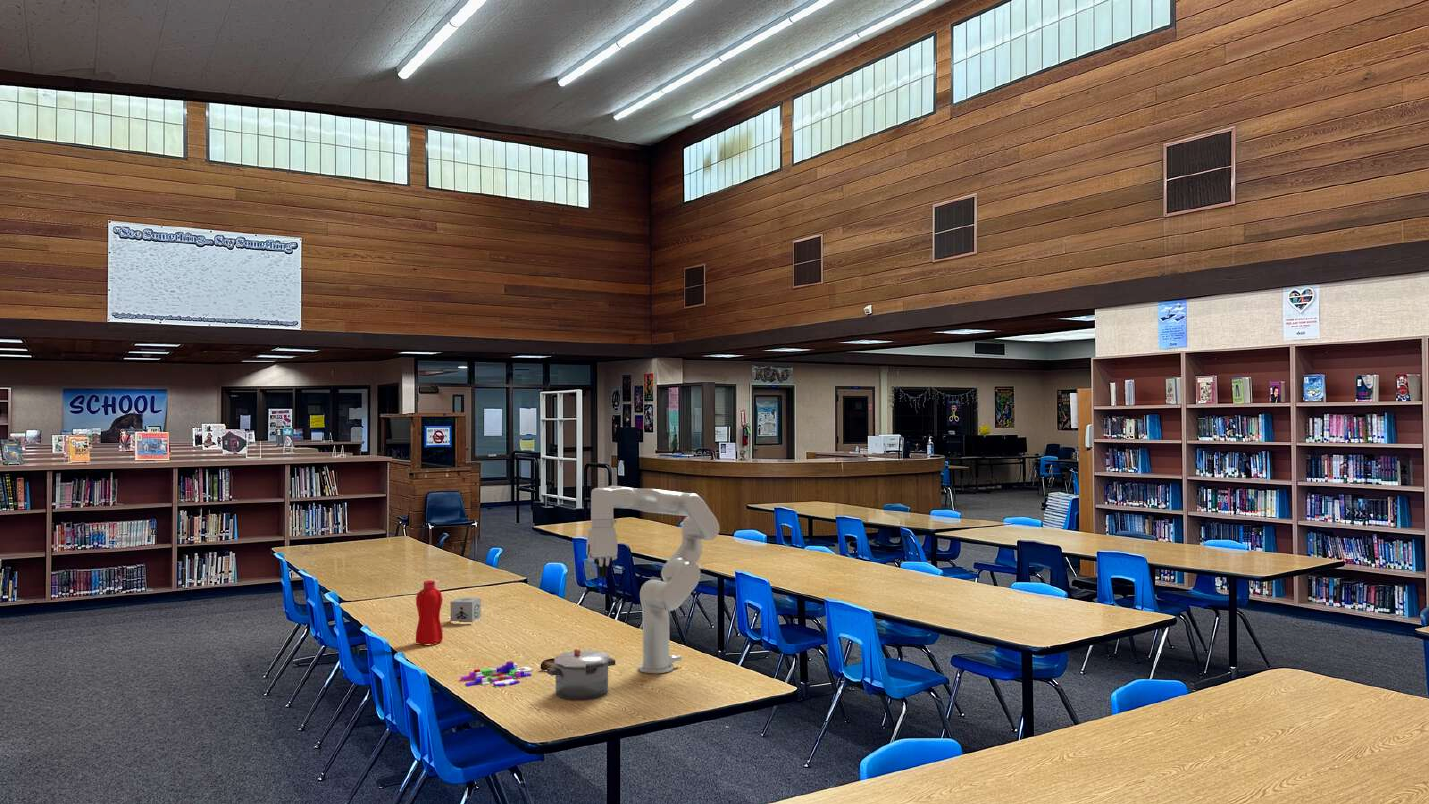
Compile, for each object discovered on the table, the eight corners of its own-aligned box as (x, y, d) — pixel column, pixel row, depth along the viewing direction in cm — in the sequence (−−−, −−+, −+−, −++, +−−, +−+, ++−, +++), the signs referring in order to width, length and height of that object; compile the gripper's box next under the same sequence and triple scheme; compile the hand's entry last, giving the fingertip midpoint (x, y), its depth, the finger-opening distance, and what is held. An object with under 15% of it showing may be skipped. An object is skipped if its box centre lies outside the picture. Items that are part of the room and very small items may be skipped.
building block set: (474, 693, 297) (474, 679, 297) (456, 678, 314) (456, 665, 315) (546, 681, 310) (546, 667, 311) (524, 667, 328) (524, 655, 328)
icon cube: (459, 619, 408) (459, 597, 409) (480, 620, 407) (480, 597, 407) (450, 624, 398) (450, 601, 399) (472, 624, 397) (472, 602, 397)
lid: (594, 651, 307) (594, 643, 307) (621, 663, 290) (621, 655, 290) (546, 659, 297) (546, 650, 297) (570, 672, 281) (570, 663, 281)
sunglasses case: (555, 673, 317) (549, 655, 319) (544, 681, 321) (538, 663, 323) (593, 663, 331) (586, 646, 333) (581, 670, 335) (575, 653, 337)
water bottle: (409, 645, 360) (409, 582, 360) (427, 639, 370) (427, 578, 370) (427, 647, 356) (428, 584, 357) (446, 641, 366) (446, 579, 367)
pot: (600, 680, 308) (600, 651, 308) (624, 693, 293) (624, 662, 294) (538, 691, 296) (538, 661, 296) (560, 705, 281) (560, 673, 281)
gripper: (616, 521, 317) (617, 574, 317) (577, 524, 309) (577, 578, 308) (626, 523, 311) (627, 577, 310) (587, 526, 303) (587, 581, 302)
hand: (602, 577), depth 309 cm, fingers closed
